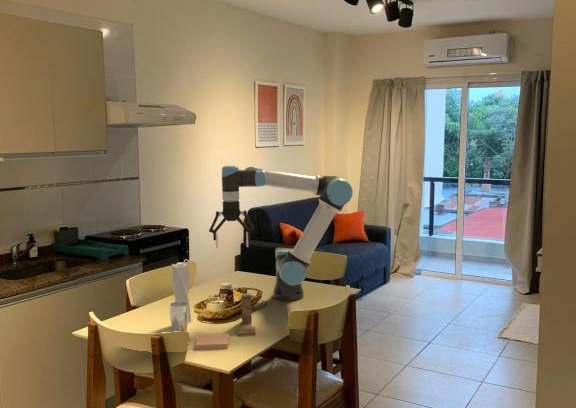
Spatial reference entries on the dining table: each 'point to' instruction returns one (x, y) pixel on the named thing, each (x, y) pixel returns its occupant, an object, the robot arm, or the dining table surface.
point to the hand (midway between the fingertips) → (232, 246)
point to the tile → (212, 341)
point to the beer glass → (179, 316)
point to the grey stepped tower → (246, 317)
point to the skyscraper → (181, 284)
